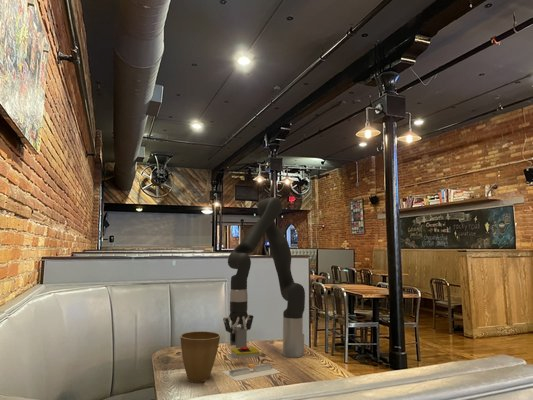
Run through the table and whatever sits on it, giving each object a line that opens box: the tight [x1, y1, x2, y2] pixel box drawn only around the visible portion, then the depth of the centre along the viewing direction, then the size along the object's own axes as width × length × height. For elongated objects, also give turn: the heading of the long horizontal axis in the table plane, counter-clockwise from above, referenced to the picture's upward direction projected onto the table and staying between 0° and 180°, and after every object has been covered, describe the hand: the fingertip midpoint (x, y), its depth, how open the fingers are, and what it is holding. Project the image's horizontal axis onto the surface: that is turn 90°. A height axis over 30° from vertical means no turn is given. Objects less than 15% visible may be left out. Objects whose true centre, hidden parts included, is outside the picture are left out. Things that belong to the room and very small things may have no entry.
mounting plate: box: [221, 363, 282, 383], centre depth 145 cm, size 20×12×1 cm, turn 123°
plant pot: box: [179, 330, 221, 383], centre depth 139 cm, size 15×15×16 cm
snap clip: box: [247, 363, 256, 369], centre depth 145 cm, size 2×2×1 cm
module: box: [229, 326, 248, 348], centre depth 156 cm, size 4×6×7 cm
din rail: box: [229, 363, 273, 377], centre depth 145 cm, size 18×2×2 cm, turn 123°
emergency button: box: [227, 346, 261, 360], centre depth 170 cm, size 9×4×15 cm
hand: (238, 341), depth 156 cm, fingers closed on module, 4 cm apart
